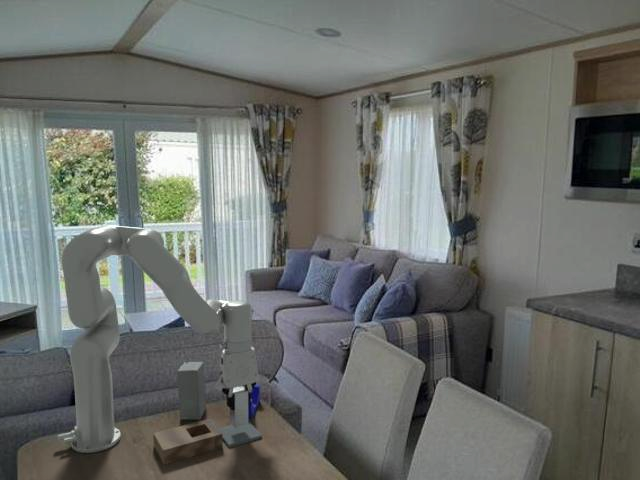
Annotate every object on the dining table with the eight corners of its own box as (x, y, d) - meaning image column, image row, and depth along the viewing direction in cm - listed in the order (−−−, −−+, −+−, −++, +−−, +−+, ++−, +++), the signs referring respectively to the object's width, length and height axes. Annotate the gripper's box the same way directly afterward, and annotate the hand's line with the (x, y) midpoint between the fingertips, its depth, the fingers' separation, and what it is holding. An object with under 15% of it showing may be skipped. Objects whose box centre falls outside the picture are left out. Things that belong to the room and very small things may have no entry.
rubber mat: (229, 447, 137) (228, 444, 137) (216, 431, 145) (216, 429, 145) (262, 437, 142) (262, 435, 142) (247, 422, 150) (247, 420, 150)
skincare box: (200, 420, 151) (199, 371, 149) (177, 420, 151) (175, 370, 149) (207, 407, 160) (206, 360, 158) (185, 407, 160) (183, 360, 158)
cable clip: (246, 401, 165) (246, 384, 164) (259, 402, 165) (259, 384, 164) (237, 418, 153) (236, 400, 152) (251, 419, 153) (251, 401, 152)
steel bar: (235, 428, 140) (234, 394, 139) (230, 421, 144) (229, 389, 142) (248, 424, 142) (248, 391, 141) (242, 418, 146) (242, 386, 144)
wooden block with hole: (163, 464, 128) (163, 450, 128) (153, 446, 137) (153, 433, 136) (222, 447, 137) (222, 433, 136) (209, 431, 145) (209, 418, 145)
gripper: (214, 354, 132) (215, 419, 135) (270, 343, 141) (271, 404, 144) (204, 346, 139) (206, 408, 141) (259, 336, 148) (259, 394, 150)
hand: (238, 405), depth 142 cm, fingers closed on steel bar, 4 cm apart
